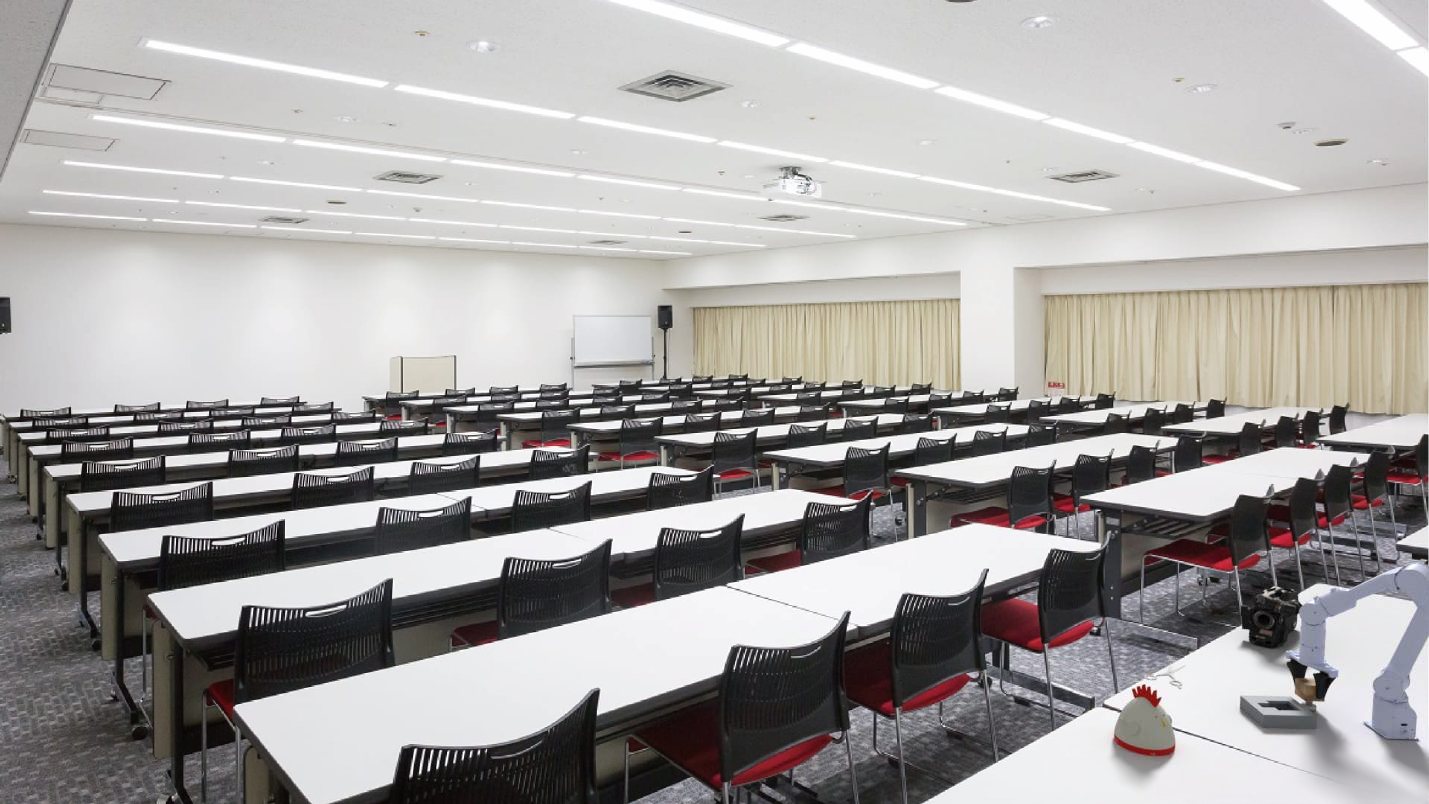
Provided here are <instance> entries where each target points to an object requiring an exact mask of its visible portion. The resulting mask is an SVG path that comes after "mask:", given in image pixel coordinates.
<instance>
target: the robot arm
mask: <svg viewBox="0 0 1429 804" xmlns="http://www.w3.org/2000/svg"><path fill="white" fill-rule="evenodd" d="M1403 567H1404V568H1403ZM1385 590H1389V591H1394V592H1398V591H1399V590H1401V591H1402V592H1403V593H1404V594H1405V595H1406V596H1408V597H1409V598H1410V599H1411V600H1412V602H1413V603H1414V605H1415V607H1416V610H1415V612H1414V614H1413V616H1412V617H1411V619H1410V621H1409V623H1408V626H1406V629H1405V632H1404V634H1403V636H1402V637H1401V639H1400V641H1399V643H1398V645H1397V646H1396V648H1395V650H1394V652H1393V654H1392V657H1390V658H1391V659H1390V660H1389V662H1388V663H1387V666H1386V667H1385V668H1382V670H1381V671H1380V673H1379V675H1378V676H1377V677H1376V678H1374V680H1373V683H1372V688H1373V695H1372V710H1371V711H1372V713H1371V720H1363V721H1362V722H1363V724H1365V725H1366V726H1367V727H1369V728H1370V729H1372V730H1373V731H1374V732H1376V733H1377V734H1379V735H1381V736H1382V737H1384V738H1385V739H1387V740H1408V739H1407V738H1415V737H1416V736H1417V734H1416V733H1417V723H1418V722H1417V719H1418V718H1417V717H1418V715H1417V713H1416V711H1415V710H1414V709H1413V708H1412V707H1411V705H1410V703H1409V696H1408V694H1407V692H1406V690H1407V689H1409V687H1410V684H1411V678H1410V677H1411V676H1410V675H1411V672H1412V670H1413V667H1414V666H1415V663H1416V661H1417V660H1418V658H1419V655H1421V652H1422V651H1423V648H1424V646H1425V645H1426V644H1427V643H1426V642H1427V640H1428V639H1429V565H1427V564H1425V563H1422V562H1418V561H1417V562H1411V563H1408V564H1406V566H1402V565H1401V566H1399V567H1395V568H1393V569H1390V570H1388V571H1387V570H1386V571H1385V572H1383V573H1381V574H1378V575H1377V576H1374V577H1373V578H1370V579H1368V580H1366V581H1364V582H1362V583H1359V584H1358V585H1356V586H1354V587H1351V588H1346V587H1338V588H1337V587H1332V588H1330V589H1329V592H1327V593H1324V594H1323V595H1320V596H1318V595H1316V596H1314V597H1313V599H1310V600H1307V601H1306V602H1305V603H1304V604H1302V607H1301V608H1300V610H1299V614H1298V616H1299V618H1300V619H1301V621H1300V623H1301V625H1300V632H1299V635H1300V636H1299V651H1294V650H1286V651H1285V658H1286V659H1287V660H1289V661H1286V666H1287V668H1288V669H1289V672H1290V674H1291V677H1292V681H1293V685H1294V686H1295V678H1306V674H1307V669H1308V668H1311V669H1313V670H1315V671H1318V672H1313V673H1312V676H1313V678H1314V679H1315V684H1316V698H1317V699H1324V698H1325V699H1326V695H1327V693H1328V691H1329V688H1330V686H1331V685H1332V684H1333V682H1334V681H1335V680H1336V679H1337V678H1338V677H1339V669H1336V667H1333V666H1331V665H1330V664H1329V663H1328V662H1327V660H1326V658H1325V657H1326V654H1325V652H1326V636H1327V635H1326V634H1327V629H1326V628H1327V625H1326V624H1327V618H1333V617H1336V616H1338V615H1341V614H1342V613H1345V612H1347V611H1350V610H1351V609H1355V608H1356V607H1357V603H1358V601H1359V600H1362V599H1364V598H1367V597H1369V596H1371V595H1374V594H1377V593H1379V592H1382V591H1385Z"/></svg>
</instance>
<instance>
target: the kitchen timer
mask: <svg viewBox="0 0 1429 804" xmlns="http://www.w3.org/2000/svg"><path fill="white" fill-rule="evenodd" d="M1131 692H1132V695H1133V699H1131V700H1130V701H1129V702H1128V703H1126V705H1124V707H1123V708H1122V710H1121V712H1120V713H1119V715H1118V717H1117V721H1116V722H1115V726H1114V729H1113V730H1114V732H1113V733H1114V734H1113V736H1114V737H1113V739H1114V741H1115V743H1116V744H1117V745H1118V746H1120V747H1122V748H1123V749H1125V750H1128V751H1129V752H1131V753H1135V754H1138V755H1143V756H1149V757H1162V756H1163V757H1164V756H1168V755H1171V754H1172V753H1174V752H1175V750H1176V735H1175V732H1174V729H1173V725H1172V723H1173V720H1172V717H1171V715H1169V714H1168V713H1167V712H1166V710H1165V709H1164V708H1163V707H1162V705H1161V704H1160V702H1161V700H1162V696H1159V697H1158V689H1154V690H1153V691H1152V689H1151V686H1149V685H1148V686H1146V684H1142V685H1141V686H1140V685H1138V686H1136V688H1134V687H1133V688H1132V689H1131Z"/></svg>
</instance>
